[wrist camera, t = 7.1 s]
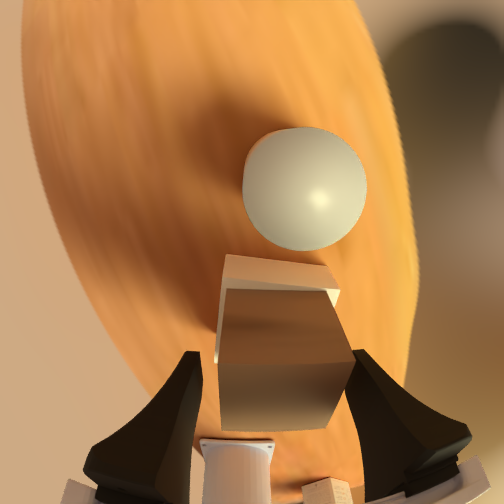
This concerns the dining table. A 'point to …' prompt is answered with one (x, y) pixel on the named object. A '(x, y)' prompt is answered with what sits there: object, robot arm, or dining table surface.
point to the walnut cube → (280, 360)
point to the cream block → (272, 280)
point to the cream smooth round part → (303, 188)
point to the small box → (327, 492)
